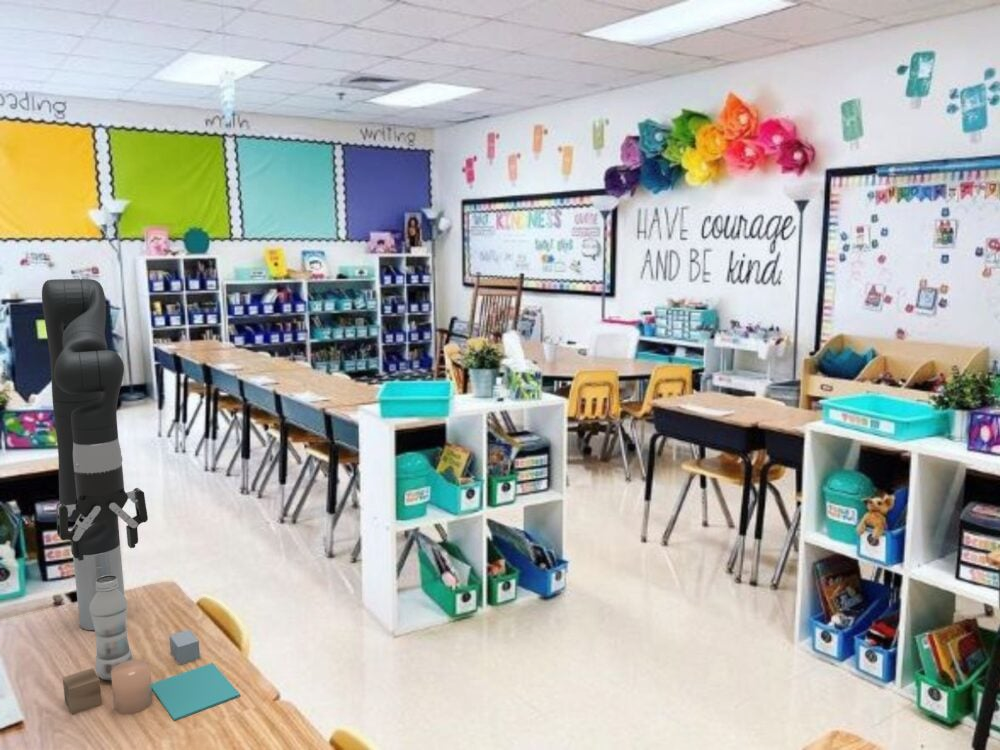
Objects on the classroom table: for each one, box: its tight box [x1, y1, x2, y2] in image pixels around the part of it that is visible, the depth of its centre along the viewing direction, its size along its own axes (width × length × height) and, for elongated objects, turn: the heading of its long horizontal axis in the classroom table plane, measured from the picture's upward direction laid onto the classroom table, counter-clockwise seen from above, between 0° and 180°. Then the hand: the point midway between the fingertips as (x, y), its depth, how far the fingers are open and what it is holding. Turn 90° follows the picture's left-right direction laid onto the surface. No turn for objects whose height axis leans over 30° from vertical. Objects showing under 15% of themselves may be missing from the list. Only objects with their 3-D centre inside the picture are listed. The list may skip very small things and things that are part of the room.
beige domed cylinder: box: [111, 658, 154, 715], centre depth 146 cm, size 6×6×7 cm
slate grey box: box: [168, 628, 201, 666], centre depth 163 cm, size 6×4×4 cm, turn 38°
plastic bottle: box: [90, 575, 134, 681], centre depth 154 cm, size 6×7×20 cm
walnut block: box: [62, 667, 103, 716], centre depth 146 cm, size 5×5×5 cm
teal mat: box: [151, 662, 241, 722], centre depth 150 cm, size 14×12×1 cm
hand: (106, 552), depth 143 cm, fingers open, 8 cm apart
